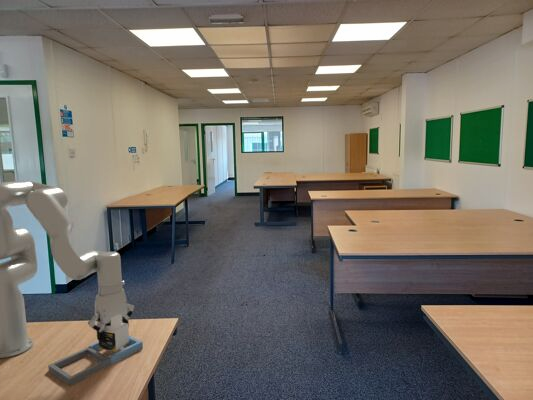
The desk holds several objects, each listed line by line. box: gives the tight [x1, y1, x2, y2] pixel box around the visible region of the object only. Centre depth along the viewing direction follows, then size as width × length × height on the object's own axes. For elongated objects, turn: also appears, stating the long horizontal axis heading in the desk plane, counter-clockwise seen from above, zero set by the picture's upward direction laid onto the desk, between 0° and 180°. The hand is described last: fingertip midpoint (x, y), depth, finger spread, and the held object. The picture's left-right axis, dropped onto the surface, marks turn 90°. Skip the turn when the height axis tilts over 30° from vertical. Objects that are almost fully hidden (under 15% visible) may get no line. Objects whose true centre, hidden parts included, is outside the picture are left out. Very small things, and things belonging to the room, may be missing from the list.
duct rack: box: [47, 335, 144, 386], centre depth 123 cm, size 13×26×2 cm, turn 145°
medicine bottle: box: [99, 314, 130, 353], centre depth 127 cm, size 7×7×12 cm
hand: (113, 335), depth 127 cm, fingers closed on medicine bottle, 8 cm apart
